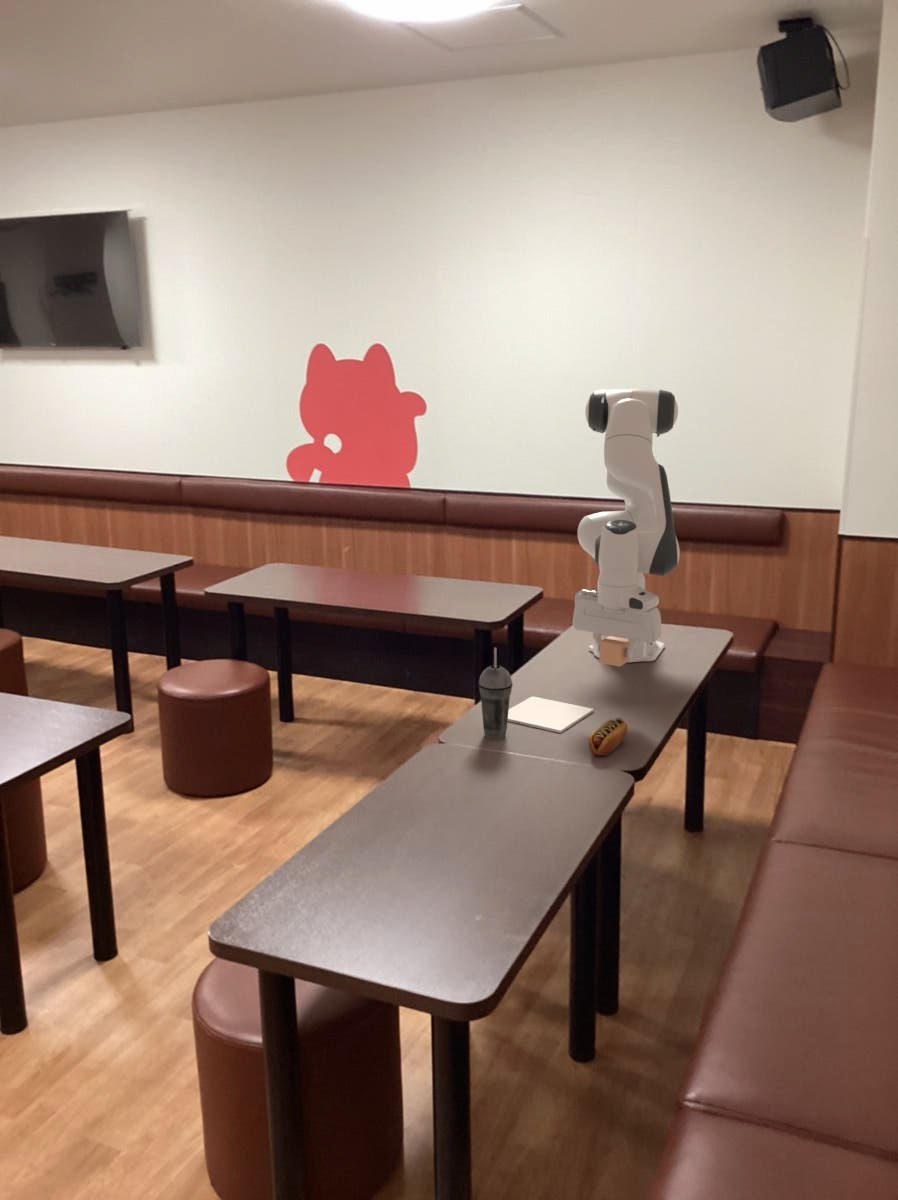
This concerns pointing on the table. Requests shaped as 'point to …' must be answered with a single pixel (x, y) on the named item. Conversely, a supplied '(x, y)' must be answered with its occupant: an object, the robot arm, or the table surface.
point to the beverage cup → (495, 699)
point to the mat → (547, 714)
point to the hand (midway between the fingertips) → (614, 654)
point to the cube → (613, 651)
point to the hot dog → (607, 736)
